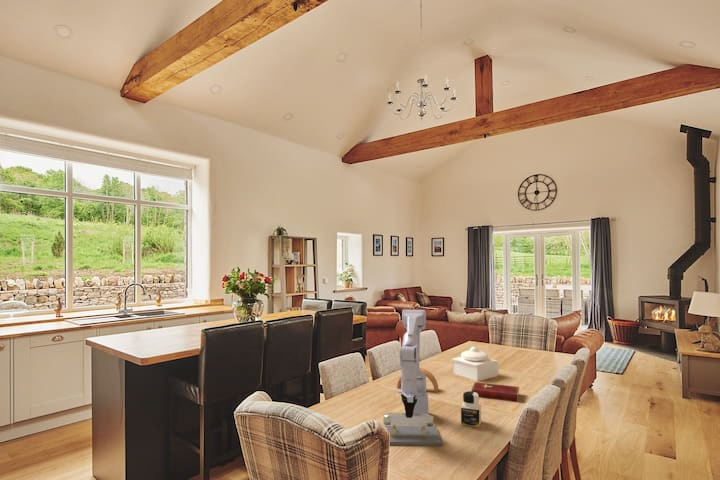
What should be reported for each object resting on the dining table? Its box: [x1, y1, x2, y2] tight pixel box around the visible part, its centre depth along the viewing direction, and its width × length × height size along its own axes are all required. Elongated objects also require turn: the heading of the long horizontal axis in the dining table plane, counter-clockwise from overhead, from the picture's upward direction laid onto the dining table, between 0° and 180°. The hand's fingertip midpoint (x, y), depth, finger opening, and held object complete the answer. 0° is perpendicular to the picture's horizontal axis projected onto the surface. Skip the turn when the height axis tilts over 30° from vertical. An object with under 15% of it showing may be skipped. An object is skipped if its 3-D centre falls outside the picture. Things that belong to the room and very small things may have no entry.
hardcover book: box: [471, 381, 520, 403], centre depth 203 cm, size 12×21×4 cm, turn 67°
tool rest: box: [384, 425, 443, 447], centre depth 156 cm, size 22×14×4 cm, turn 88°
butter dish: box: [451, 346, 499, 382], centre depth 238 cm, size 18×18×16 cm
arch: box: [396, 367, 439, 393], centre depth 213 cm, size 6×20×10 cm, turn 69°
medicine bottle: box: [460, 390, 482, 428], centre depth 170 cm, size 7×7×12 cm
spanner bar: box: [383, 411, 434, 427], centre depth 157 cm, size 18×3×4 cm, turn 88°
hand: (408, 415), depth 157 cm, fingers closed on spanner bar, 3 cm apart
